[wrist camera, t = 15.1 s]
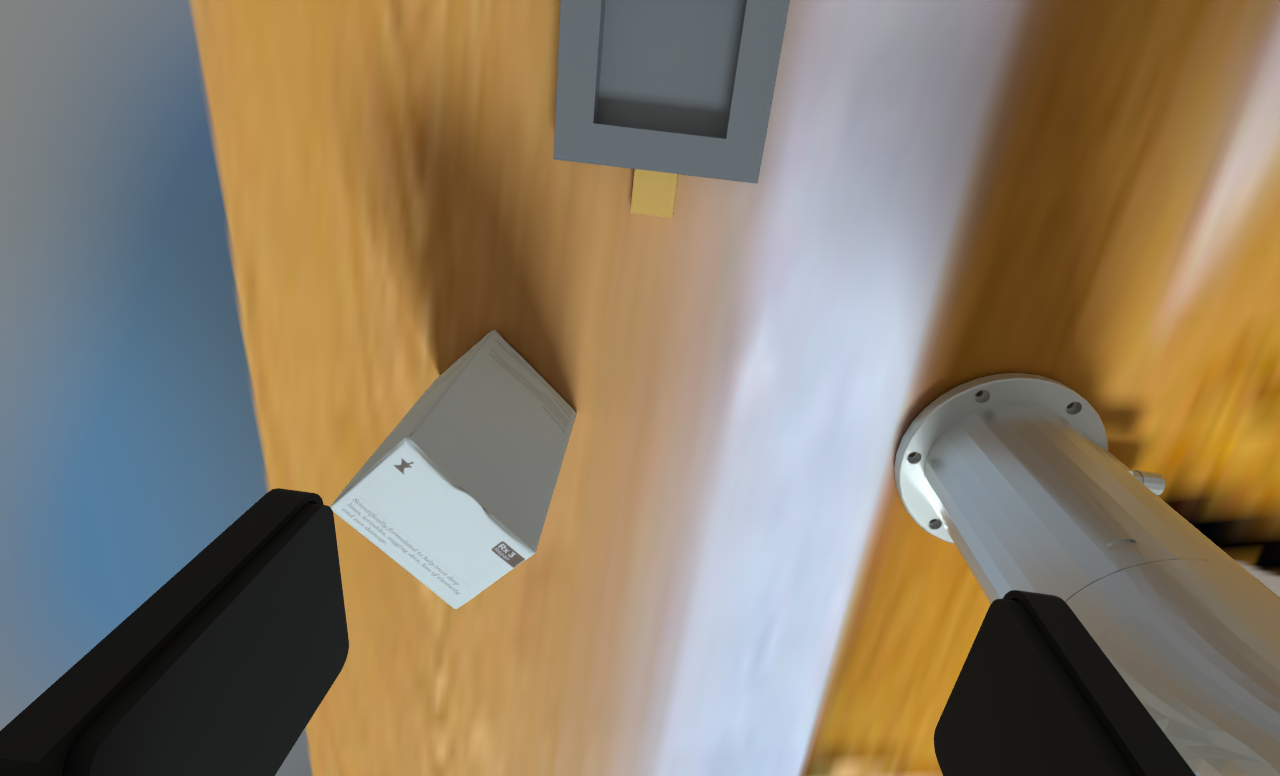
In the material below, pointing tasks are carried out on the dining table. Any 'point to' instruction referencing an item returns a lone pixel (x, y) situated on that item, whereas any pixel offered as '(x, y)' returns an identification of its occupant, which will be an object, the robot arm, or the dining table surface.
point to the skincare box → (465, 473)
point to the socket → (667, 89)
